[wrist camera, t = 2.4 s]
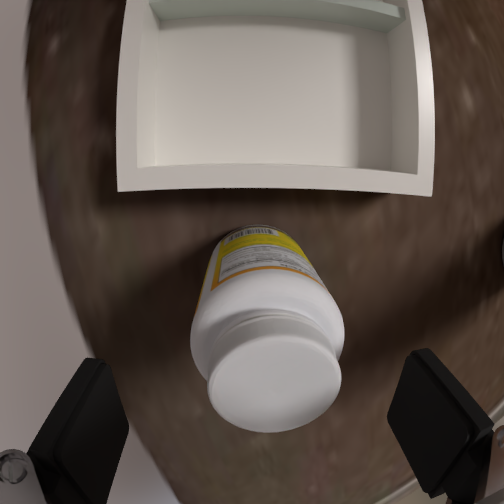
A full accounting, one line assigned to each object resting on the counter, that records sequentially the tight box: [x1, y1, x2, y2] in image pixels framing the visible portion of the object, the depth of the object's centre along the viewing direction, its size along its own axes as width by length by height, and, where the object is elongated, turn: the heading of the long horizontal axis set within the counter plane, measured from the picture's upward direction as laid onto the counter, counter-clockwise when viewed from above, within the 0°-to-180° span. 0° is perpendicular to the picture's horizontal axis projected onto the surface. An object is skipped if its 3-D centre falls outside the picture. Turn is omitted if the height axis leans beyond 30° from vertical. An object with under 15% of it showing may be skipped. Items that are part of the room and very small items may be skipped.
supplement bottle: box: [190, 225, 344, 432], centre depth 13 cm, size 6×6×10 cm
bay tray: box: [116, 0, 435, 197], centre depth 12 cm, size 20×15×4 cm
